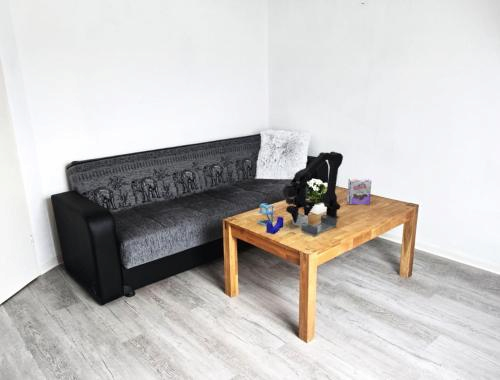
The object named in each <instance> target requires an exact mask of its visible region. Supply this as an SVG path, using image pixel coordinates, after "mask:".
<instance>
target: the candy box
mask: <svg viewBox="0 0 500 380" xmlns="http://www.w3.org/2000/svg"><path fill="white" fill-rule="evenodd" d="M347 181H348V183H347V184H348V185H347V197H346V202H348V203H347V204H348V205H349V204H371V192H372V191H371V190H372V180H371V179H370V178H348V179H347Z"/></svg>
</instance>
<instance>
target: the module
mask: <svg viewBox="0 0 500 380" xmlns="http://www.w3.org/2000/svg"><path fill="white" fill-rule="evenodd" d="M298 213H299V214H298V218H297V221H296V223H294V221H293V220H292V225H295V226H297V227H300V228H301V226H302V223H308V224H309V215H308V216H306V215H304V213H301V212H298Z"/></svg>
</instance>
